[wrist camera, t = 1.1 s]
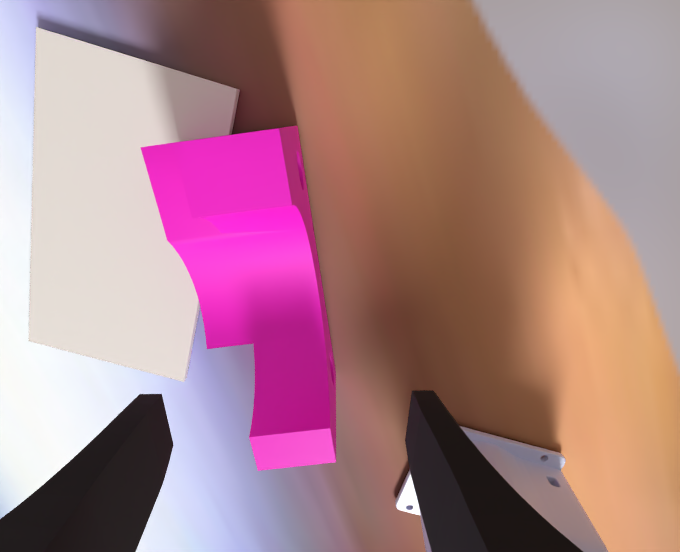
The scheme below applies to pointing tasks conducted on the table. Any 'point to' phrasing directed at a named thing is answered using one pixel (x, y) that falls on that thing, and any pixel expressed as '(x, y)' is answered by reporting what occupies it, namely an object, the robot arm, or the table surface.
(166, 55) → the table surface
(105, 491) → the robot arm
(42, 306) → the mat
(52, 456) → the table surface
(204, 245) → the toy block
